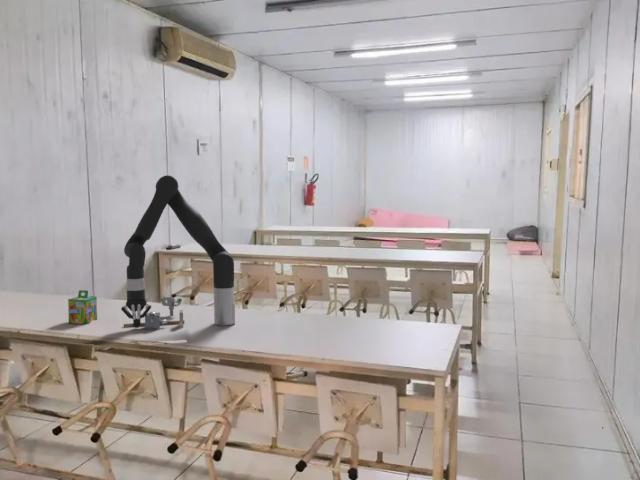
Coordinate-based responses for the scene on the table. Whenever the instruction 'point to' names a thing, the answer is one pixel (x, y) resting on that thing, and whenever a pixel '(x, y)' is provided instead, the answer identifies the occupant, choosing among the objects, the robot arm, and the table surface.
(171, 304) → the mechanical component
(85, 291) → the chalk box
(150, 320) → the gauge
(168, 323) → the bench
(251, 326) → the table surface
